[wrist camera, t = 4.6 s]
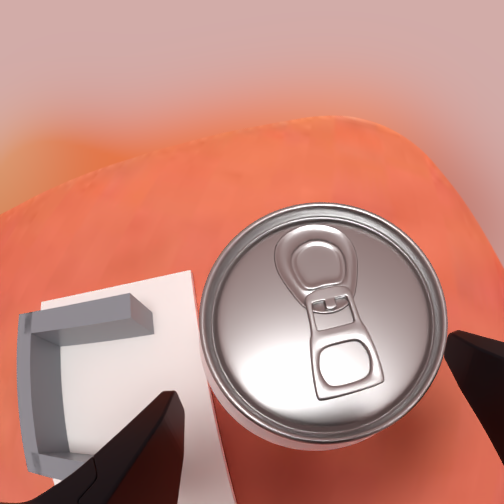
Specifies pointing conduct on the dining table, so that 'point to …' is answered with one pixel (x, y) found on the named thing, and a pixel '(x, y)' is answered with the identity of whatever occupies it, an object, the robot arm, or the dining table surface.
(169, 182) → the dining table surface
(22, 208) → the dining table surface
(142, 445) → the robot arm
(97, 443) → the socket
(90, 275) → the dining table surface
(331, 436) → the can
